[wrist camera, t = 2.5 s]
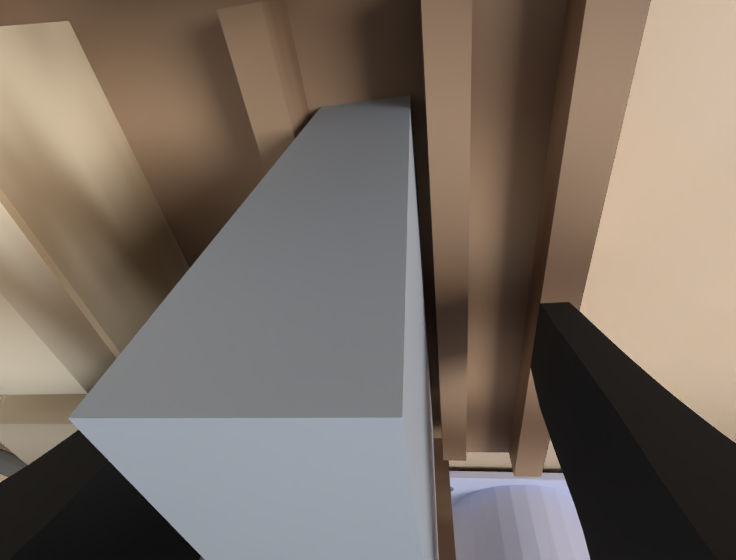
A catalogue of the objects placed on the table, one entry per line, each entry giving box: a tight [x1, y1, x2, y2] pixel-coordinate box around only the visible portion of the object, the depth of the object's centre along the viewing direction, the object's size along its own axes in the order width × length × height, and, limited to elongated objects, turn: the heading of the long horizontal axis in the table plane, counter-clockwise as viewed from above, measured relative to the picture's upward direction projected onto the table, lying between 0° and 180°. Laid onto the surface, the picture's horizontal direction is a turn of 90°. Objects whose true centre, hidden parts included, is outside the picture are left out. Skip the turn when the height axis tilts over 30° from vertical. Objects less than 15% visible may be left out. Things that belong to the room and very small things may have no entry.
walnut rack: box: [0, 0, 651, 560], centre depth 10 cm, size 18×16×7 cm
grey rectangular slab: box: [68, 95, 439, 560], centre depth 8 cm, size 10×2×8 cm, turn 8°
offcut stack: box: [0, 21, 190, 465], centre depth 11 cm, size 15×4×4 cm, turn 8°
